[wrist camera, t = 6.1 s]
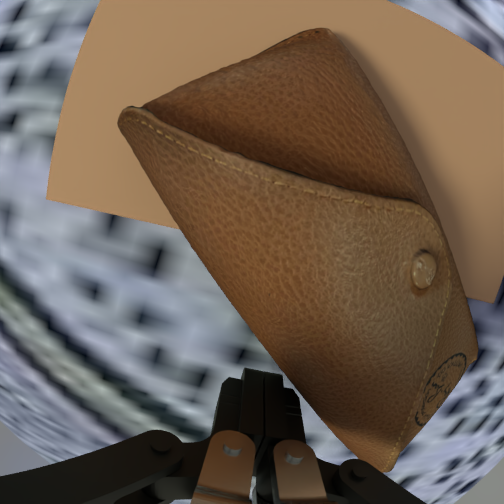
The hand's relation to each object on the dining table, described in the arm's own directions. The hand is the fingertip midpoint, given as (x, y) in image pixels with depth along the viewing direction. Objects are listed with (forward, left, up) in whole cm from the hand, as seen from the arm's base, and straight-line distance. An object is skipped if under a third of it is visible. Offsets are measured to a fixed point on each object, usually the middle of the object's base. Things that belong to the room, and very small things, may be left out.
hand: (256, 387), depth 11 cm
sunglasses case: (-5, +3, -2) cm, 6 cm away
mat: (-11, 0, -2) cm, 11 cm away
